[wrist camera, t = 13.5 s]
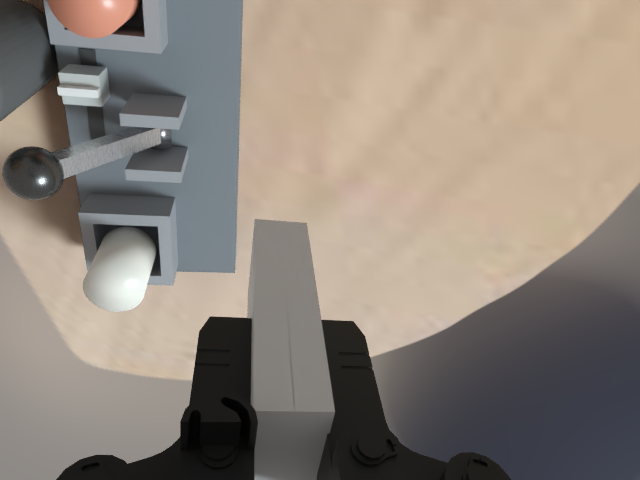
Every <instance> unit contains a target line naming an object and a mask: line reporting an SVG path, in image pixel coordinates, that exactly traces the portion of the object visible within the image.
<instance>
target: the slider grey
mask: <svg viewBox="0 0 640 480" xmlns="http://www.w3.org/2000/svg"><path fill="white" fill-rule="evenodd" d="M58 75H59V81H60V85H59V86H58V87H57V91H58V95H62V100H63V104H70V105H84V106H98V107H102V106H103V105H104V104H105V103H106V101H107V100H108V99H109V98H110V90H109V81H108V72H107V67H100V66H88V65H76V64H68V65H67V66H66V67H64V68H63V69H62V70H61V71H59V72H58Z"/></svg>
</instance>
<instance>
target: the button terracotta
mask: <svg viewBox="0 0 640 480" xmlns="http://www.w3.org/2000/svg"><path fill="white" fill-rule="evenodd" d="M47 1H48V4H49V7H50V9H51V11H52V12H53V14H54V16H55V17H56V18H57V19H58V21H59V22H60V23H61V24H62V25H63V26H65V27H66V28H67V29H69V30H70V31H72V32H73V33H75V34H77V35H80V36H83V37H87V38H102V37H106V36H108V35H110V34H112V33H113V32H115V31H116V30H117V29H118V28H119V27H121V26H122V25H123V24H124V23H125V22H127V21H128V20H129V19H130V18H131V17H133V16H134V15H135V14H136V13H137V12H138V10H139V8H140V6H141V4H142V0H47Z"/></svg>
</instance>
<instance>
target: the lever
mask: <svg viewBox="0 0 640 480" xmlns="http://www.w3.org/2000/svg"><path fill="white" fill-rule="evenodd" d="M171 147H172V131H171V129H160V128H145V127H132V128H128V129H125V130H122V131H119V132H116V133H112V134H109V135H106V136H103V137H100V138H96V139H93V140H90V141H87V142H83V143H80V144H77V145H74V146H71V147H67V148H64V149H61V150H58V151H54V152H49V151H48V150H46V149H43V148H40V147H32V146H31V147H23V148H20V149H18V150H16V151H14V152H13V153H11V154H10V155H9V156H8V158H7V159H6V161H5V163H4V166H3V177H4V180H5V183H6V185H7V186H8V187H9V189H10V190H11V191H12V192H13V193H15V194H16V195H18V196H20V197H22V198H25V199H29V200H42V199H46V198H48V197H50V196H52V195H54V194H55V193H56V192H57V191H58V190H59V189H60V187H61V185H62V183H63V179H65V178H67V177H70V176H73V175H76V174H78V173H81V172H84V171H87V170H89V169H92V168H95V167H98V166H100V165H103V164H106V163H109V162H111V161H114V160H117V159H120V158H122V157H125V156H128V155H131V154H134V153H136V152H139V151H142V150H145V149H147V148H151V149H154V150H167V149H170V148H171Z"/></svg>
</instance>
